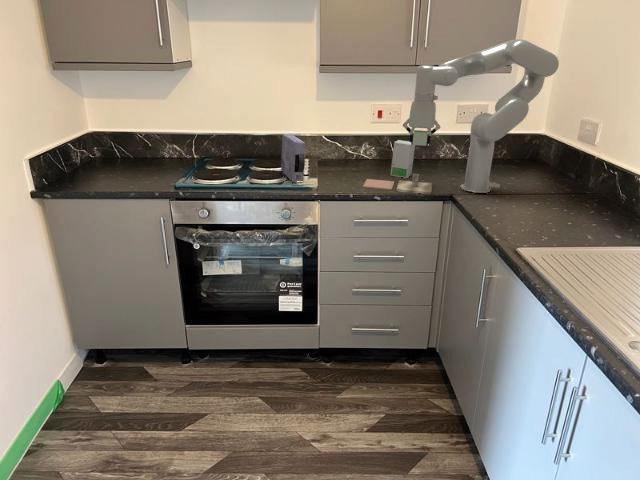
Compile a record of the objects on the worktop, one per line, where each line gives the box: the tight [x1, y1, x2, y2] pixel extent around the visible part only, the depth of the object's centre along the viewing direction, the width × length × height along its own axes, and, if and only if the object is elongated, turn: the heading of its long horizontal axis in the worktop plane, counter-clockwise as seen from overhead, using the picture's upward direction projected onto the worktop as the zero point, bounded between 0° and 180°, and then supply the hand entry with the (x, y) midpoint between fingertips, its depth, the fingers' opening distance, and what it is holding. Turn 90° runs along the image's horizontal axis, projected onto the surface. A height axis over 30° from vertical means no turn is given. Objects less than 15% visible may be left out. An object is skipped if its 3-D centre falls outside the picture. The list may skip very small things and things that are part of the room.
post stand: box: [395, 173, 433, 196], centre depth 207 cm, size 14×14×6 cm
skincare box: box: [390, 139, 416, 179], centre depth 224 cm, size 8×7×16 cm
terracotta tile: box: [362, 178, 395, 191], centre depth 211 cm, size 12×12×1 cm
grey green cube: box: [413, 129, 428, 147], centre depth 200 cm, size 5×5×5 cm
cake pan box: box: [280, 133, 306, 183], centre depth 215 cm, size 19×5×18 cm, turn 22°
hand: (419, 144), depth 201 cm, fingers closed on grey green cube, 5 cm apart
